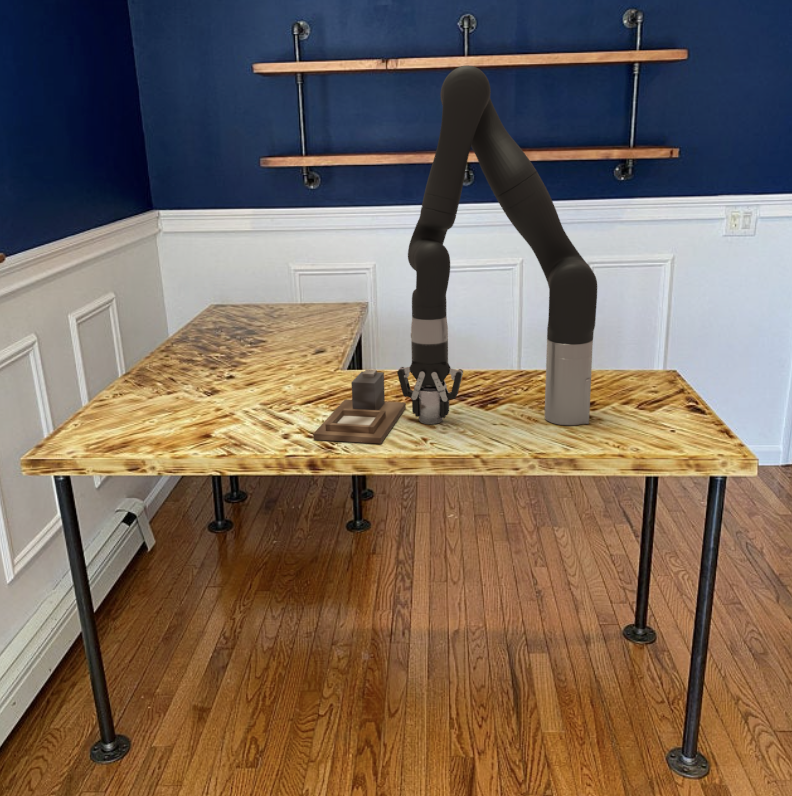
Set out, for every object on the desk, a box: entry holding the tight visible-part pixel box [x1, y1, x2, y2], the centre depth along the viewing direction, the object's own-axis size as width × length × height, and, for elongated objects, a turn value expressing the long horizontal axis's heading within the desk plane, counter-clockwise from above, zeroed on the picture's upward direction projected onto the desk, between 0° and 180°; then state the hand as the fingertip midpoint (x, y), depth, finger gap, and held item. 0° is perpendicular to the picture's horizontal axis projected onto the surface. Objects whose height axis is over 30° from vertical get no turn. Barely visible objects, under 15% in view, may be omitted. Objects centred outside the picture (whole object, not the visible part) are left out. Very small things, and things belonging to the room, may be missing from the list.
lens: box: [418, 386, 444, 425], centre depth 174 cm, size 5×5×8 cm
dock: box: [312, 369, 407, 444], centre depth 173 cm, size 14×22×9 cm, turn 167°
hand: (430, 415), depth 175 cm, fingers closed on lens, 5 cm apart
